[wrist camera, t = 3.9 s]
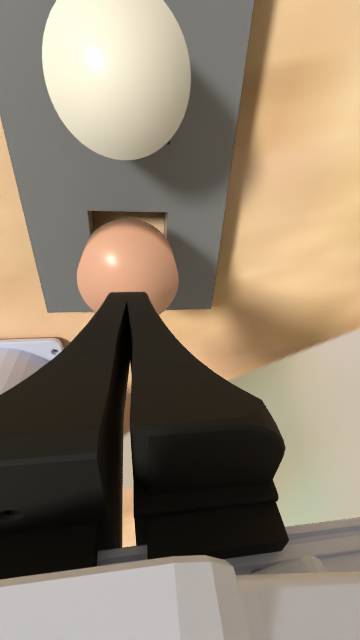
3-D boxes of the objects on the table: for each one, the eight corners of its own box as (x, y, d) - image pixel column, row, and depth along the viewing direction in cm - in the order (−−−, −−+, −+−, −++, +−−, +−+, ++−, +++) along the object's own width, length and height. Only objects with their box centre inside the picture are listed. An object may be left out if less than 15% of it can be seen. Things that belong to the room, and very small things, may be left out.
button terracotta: (169, 287, 18) (176, 321, 15) (92, 288, 17) (83, 324, 14) (172, 210, 15) (181, 234, 12) (81, 207, 14) (68, 233, 12)
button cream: (174, 150, 13) (185, 163, 11) (73, 146, 13) (56, 157, 10) (180, 13, 11) (196, -18, 8) (54, -1, 10) (25, -41, 8)
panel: (206, 295, 20) (211, 308, 19) (53, 298, 19) (47, 312, 18) (297, -433, 8) (329, -539, 6) (-140, -581, 6) (-210, -755, 5)
